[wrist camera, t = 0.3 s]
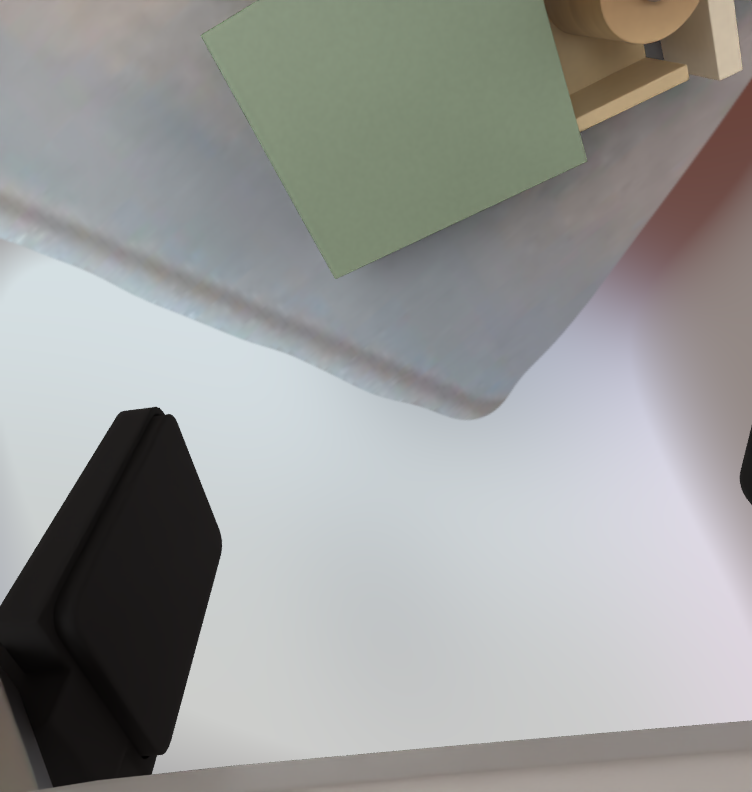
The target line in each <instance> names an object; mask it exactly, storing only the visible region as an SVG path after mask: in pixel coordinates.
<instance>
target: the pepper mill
mask: <svg viewBox="0 0 752 792" xmlns="http://www.w3.org/2000/svg"><path fill="white" fill-rule="evenodd" d="M544 1H545V7H546V11H547V14H548V16H549V18H550V20H551V21H552V22H553V24H554V25H555V26H556V27H557V28H558V29H560V30H561V31H563V32H565V33H568V34H571V35H578V36H585V37H591V38H598V39H605V40H612V41H619V42H625V43H632V44H649V43H653V42H656V41H659V40H661V39H664V38H665V37H667V36H669V35H671V34H672V33H673V32H675V31H676V30H677V29H678V28H680V27H681V26H682V25H683V24H684V23H685V22H686V20H687V19H688V18H689V17H690V16H691V14H692V13H693V11H694V10H695V8H696V7H697V5H698V3H699V1H700V0H544Z"/></svg>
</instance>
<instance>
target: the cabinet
mask: <svg viewBox="0 0 752 792" xmlns="http://www.w3.org/2000/svg"><path fill="white" fill-rule="evenodd" d="M201 37H202V39H203V41H204V42H205V44H206V46H207V48H208V50H209V51H210V53H211V55H212V57H213V59H214V61H215V62H216V64H217V66H218V68H219V70H220V71H221V73H222V75H223V77H224V79H225V80H226V82H227V84H228V86H229V88H230V90H231V91H232V93H233V95H234V97H235V99H236V100H237V102H238V104H239V106H240V108H241V109H242V111H243V113H244V115H245V117H246V118H247V120H248V122H249V124H250V126H251V128H252V129H253V131H254V133H255V135H256V137H257V138H258V140H259V142H260V144H261V146H262V147H263V149H264V151H265V153H266V155H267V157H268V158H269V160H270V162H271V164H272V166H273V167H274V169H275V171H276V173H277V175H278V176H279V178H280V180H281V182H282V184H283V185H284V187H285V189H286V191H287V193H288V195H289V196H290V198H291V200H292V202H293V204H294V205H295V207H296V209H297V211H298V213H299V214H300V216H301V218H302V220H303V222H304V224H305V225H306V227H307V229H308V231H309V233H310V234H311V236H312V238H313V240H314V242H315V243H316V245H317V247H318V249H319V251H320V253H321V254H322V256H323V258H324V260H325V262H326V263H327V265H328V267H329V269H330V271H331V272H332V274H333V276H334V278H335V279H337V278H339V277H341V276H344V275H346V274H348V273H350V272H352V271H354V270H356V269H359V268H361V267H363V266H365V265H367V264H369V263H371V262H373V261H376V260H378V259H380V258H382V257H384V256H386V255H388V254H391V253H393V252H395V251H397V250H399V249H401V248H403V247H405V246H408V245H410V244H412V243H414V242H416V241H418V240H420V239H423V238H425V237H427V236H429V235H431V234H433V233H435V232H438V231H440V230H442V229H444V228H446V227H448V226H450V225H452V224H455V223H457V222H459V221H461V220H463V219H465V218H467V217H470V216H472V215H474V214H476V213H478V212H480V211H482V210H484V209H487V208H489V207H491V206H493V205H495V204H497V203H499V202H502V201H504V200H506V199H508V198H510V197H512V196H514V195H517V194H519V193H521V192H523V191H525V190H527V189H529V188H531V187H534V186H536V185H538V184H540V183H542V182H544V181H546V180H549V179H551V178H553V177H555V176H557V175H559V174H561V173H564V172H566V171H568V170H570V169H572V168H574V167H576V166H578V165H581V164H583V163H585V162H587V157H586V154H585V150H584V146H583V143H582V139H581V135H580V132H579V128H578V125H577V121H576V117H575V114H574V110H573V106H572V103H571V99H570V95H569V92H568V88H567V84H566V81H565V77H564V73H563V70H562V66H561V63H560V59H559V55H558V52H557V48H556V44H555V41H554V37H553V33H552V30H551V26H550V22H549V19H548V15H547V11H546V8H545V4H544V1H543V0H258V1H256V2H255V3H253V4H251V5H250V6H248V7H246V8H245V9H243V10H241V11H240V12H238V13H236V14H235V15H233V16H232V17H230V18H228V19H227V20H225V21H223V22H222V23H220V24H218V25H217V26H215V27H213V28H212V29H210V30H209V31H207V32H205V33H204V34H202V35H201Z"/></svg>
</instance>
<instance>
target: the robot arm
mask: <svg viewBox="0 0 752 792" xmlns="http://www.w3.org/2000/svg"><path fill="white" fill-rule="evenodd" d="M740 484H741V488H742V491H743V493H744V495H745V496H746V498H747V499H748V501H749V502H750V503H751V504H752V427H751V431H750V436H749V439H748V443H747V447H746V451H745V455H744V459H743V463H742V468H741V472H740ZM221 551H222V539H221V534H220V530H219V528H218V525H217V523H216V520H215V518H214V515H213V513H212V510H211V508H210V505H209V502H208V500H207V497H206V495H205V492H204V489H203V487H202V485H201V482H200V480H199V477H198V474H197V472H196V469H195V467H194V464H193V462H192V459H191V457H190V454H189V451H188V449H187V446H186V444H185V441H184V439H183V436H182V434H181V431H180V428H179V426H178V423H177V421H176V419H175V418H174V417H173V415H171V414H167V415H165V414H164V413H163V411H162V410H161V409H160V408H157V407H152V408H144V409H136V410H128V411H123V412H120V413H119V414H118V415H117V417H116V418H115V420H114V422H113V424H112V425H111V427H110V428H109V430H108V431H107V433H106V435H105V436H104V438H103V440H102V441H101V443H100V445H99V446H98V448H97V449H96V451H95V453H94V454H93V456H92V458H91V459H90V461H89V462H88V464H87V466H86V467H85V469H84V471H83V472H82V474H81V475H80V477H79V479H78V480H77V482H76V484H75V485H74V487H73V488H72V490H71V492H70V493H69V495H68V497H67V498H66V500H65V502H64V503H63V505H62V506H61V508H60V510H59V511H58V513H57V514H56V516H55V518H54V519H53V521H52V523H51V524H50V526H49V528H48V529H47V531H46V532H45V534H44V536H43V537H42V539H41V541H40V542H39V544H38V546H37V547H36V549H35V550H34V552H33V553H32V555H31V557H30V558H29V560H28V562H27V563H26V565H25V567H24V568H23V570H22V571H21V573H20V575H19V576H18V578H17V580H16V581H15V583H14V584H13V586H12V588H11V589H10V591H9V593H8V594H7V596H6V597H5V599H4V601H3V602H2V604H1V606H0V792H752V721H740V722H728V723H716V724H705V725H692V726H680V727H668V728H658V729H657V728H656V729H645V730H633V731H621V732H609V733H597V734H586V735H574V736H562V737H551V738H539V739H527V740H516V741H504V742H492V743H481V744H469V745H457V746H446V747H435V748H424V749H413V750H402V751H392V752H380V753H370V754H369V753H368V754H358V755H346V756H335V757H325V758H314V759H302V760H292V761H280V762H269V763H258V764H247V765H237V766H226V767H217V768H208V769H199V770H189V771H180V772H171V773H162V774H152V771H153V768H154V764H155V761H156V757H157V755H163V754H164V753H165V752H166V751H167V749H168V747H169V745H170V742H171V739H172V735H173V731H174V728H175V724H176V720H177V716H178V713H179V709H180V705H181V701H182V698H183V694H184V690H185V686H186V683H187V679H188V675H189V671H190V668H191V664H192V660H193V657H194V653H195V649H196V646H197V642H198V638H199V634H200V631H201V627H202V623H203V619H204V616H205V612H206V608H207V605H208V601H209V597H210V593H211V590H212V586H213V582H214V579H215V575H216V571H217V567H218V564H219V559H220V556H221Z"/></svg>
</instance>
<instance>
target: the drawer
mask: <svg viewBox="0 0 752 792" xmlns="http://www.w3.org/2000/svg"><path fill="white" fill-rule="evenodd" d="M543 1H544V0H543ZM544 4H545V1H544ZM545 8H546V7H545ZM547 15H548V14H547ZM548 19H549V22H550V26H551V30H552V33H553V37H554V41H555V44H556V48H557V52H558V55H559V59H560V63H561V66H562V70H563V73H564V77H565V81H566V84H567V88H568V92H569V95H570V99H571V103H572V106H573V110H574V114H575V117H576V121H577V125H578V128H579V132H581V131H583V130H586V129H588V128H590V127H592V126H594V125H596V124H598V123H600V122H602V121H604V120H606V119H608V118H610V117H613V116H615V115H617V114H619V113H621V112H623V111H625V110H627V109H629V108H631V107H633V106H635V105H637V104H640V103H642V102H644V101H646V100H648V99H650V98H652V97H654V96H656V95H658V94H660V93H662V92H665V91H667V90H669V89H671V88H673V87H675V86H677V85H679V84H681V83H683V82H685V81H687V80H689V74H691V75H695V76H700V77H705V78H709V79H714V80H718V81H721V80H723V79H725V78H727V77H729V76H731V75H733V74H735V73H737V72H739V71H741V70H742V61H741V53H740V46H739V38H738V30H737V22H736V14H735V7H734V0H700V1H699V3H698V5H697V7H696V8H695V10H694V11H693V13H692V14H691V16H690V17H689V18H688V19H687V20H686V22H685V23H684V24H683V25H682V26H681V27H680V28H678V29H677V30H676V31H675V32H673V33H672V34H671V35H669V36H667V37H665V38H664V39H661V45H662V51H663V56H664V60H659V59H653V58H648V57H646V54H645V49H644V45H643V44H632V43H625V42H619V41H612V40H605V39H598V38H591V37H585V36H578V35H571V34H568V33H565V32H563V31H561V30H560V29H558V28H557V27H556V26H555V25H554V24H553V22H552V21H551V20H550V18H549V16H548Z"/></svg>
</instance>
